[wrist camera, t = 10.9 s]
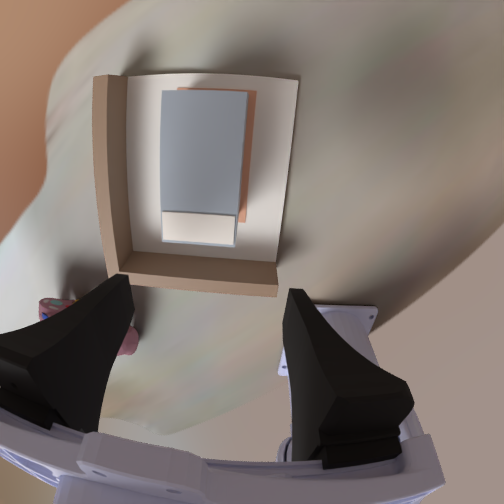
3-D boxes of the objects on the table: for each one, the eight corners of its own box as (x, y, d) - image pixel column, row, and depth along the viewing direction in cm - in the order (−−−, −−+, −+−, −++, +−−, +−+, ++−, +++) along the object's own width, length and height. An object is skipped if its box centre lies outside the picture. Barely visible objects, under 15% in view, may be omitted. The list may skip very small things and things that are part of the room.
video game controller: (147, 309, 27) (128, 331, 20) (140, 350, 27) (121, 381, 21) (62, 282, 26) (26, 294, 19) (58, 322, 26) (24, 342, 19)
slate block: (248, 94, 16) (247, 92, 12) (239, 212, 20) (234, 248, 16) (184, 92, 16) (161, 90, 12) (181, 209, 20) (161, 242, 16)
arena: (273, 269, 23) (276, 297, 20) (125, 257, 23) (109, 281, 20) (297, 81, 16) (306, 76, 13) (117, 78, 16) (93, 76, 13)
